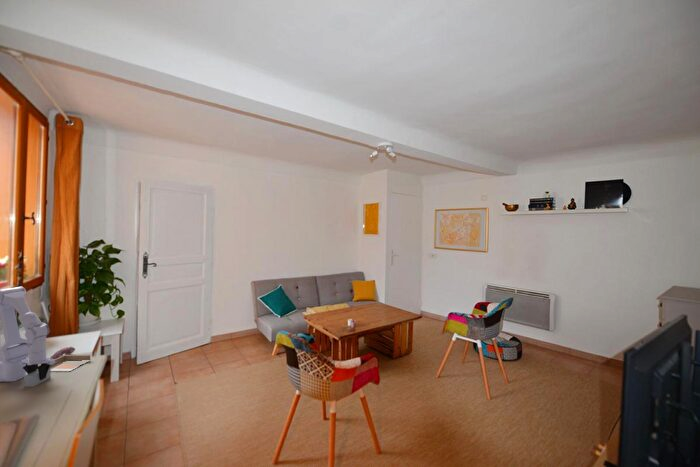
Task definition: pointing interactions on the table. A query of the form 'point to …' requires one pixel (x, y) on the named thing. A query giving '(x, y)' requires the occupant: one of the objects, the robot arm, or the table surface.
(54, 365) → the tray
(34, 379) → the slate block
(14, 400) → the table surface
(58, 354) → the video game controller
